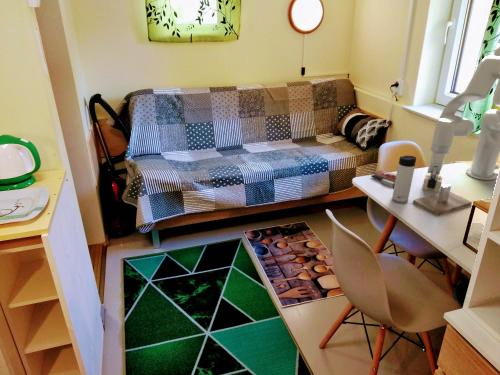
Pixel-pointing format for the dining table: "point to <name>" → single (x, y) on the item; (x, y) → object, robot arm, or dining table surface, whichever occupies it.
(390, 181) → the walkie-talkie
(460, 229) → the dining table surface
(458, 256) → the dining table surface
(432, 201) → the board
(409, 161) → the travel mug
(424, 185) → the wooden nightstand
